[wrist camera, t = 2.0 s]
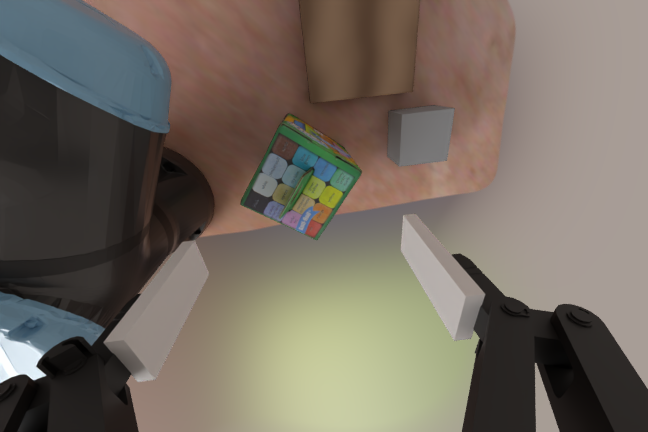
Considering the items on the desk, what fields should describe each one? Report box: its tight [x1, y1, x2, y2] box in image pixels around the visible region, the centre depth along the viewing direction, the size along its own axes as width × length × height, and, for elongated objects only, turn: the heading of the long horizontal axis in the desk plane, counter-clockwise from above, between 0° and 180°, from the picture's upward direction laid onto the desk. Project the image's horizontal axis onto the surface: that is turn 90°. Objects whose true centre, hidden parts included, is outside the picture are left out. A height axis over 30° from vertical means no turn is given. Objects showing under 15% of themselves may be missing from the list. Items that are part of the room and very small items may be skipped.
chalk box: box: [241, 113, 362, 240], centre depth 27 cm, size 9×9×15 cm
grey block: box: [387, 105, 455, 167], centre depth 30 cm, size 6×6×5 cm
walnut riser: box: [299, 0, 420, 103], centre depth 26 cm, size 12×12×2 cm
